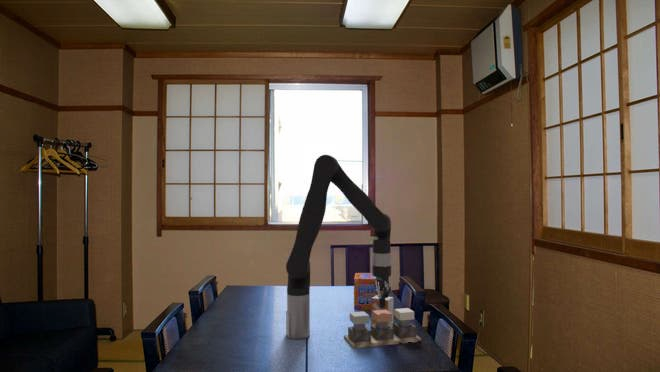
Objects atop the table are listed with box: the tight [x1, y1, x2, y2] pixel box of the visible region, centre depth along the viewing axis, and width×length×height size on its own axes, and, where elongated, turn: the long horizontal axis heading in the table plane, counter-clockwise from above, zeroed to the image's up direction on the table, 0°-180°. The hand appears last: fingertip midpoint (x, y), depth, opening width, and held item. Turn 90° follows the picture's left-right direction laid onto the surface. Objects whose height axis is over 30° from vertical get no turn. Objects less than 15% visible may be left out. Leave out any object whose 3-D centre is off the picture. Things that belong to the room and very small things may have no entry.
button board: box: [343, 322, 422, 349], centre depth 183 cm, size 28×12×5 cm, turn 105°
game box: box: [353, 272, 376, 311], centre depth 235 cm, size 16×16×16 cm
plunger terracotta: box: [372, 310, 392, 329], centre depth 183 cm, size 6×6×7 cm
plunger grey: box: [349, 310, 370, 331], centre depth 181 cm, size 6×6×7 cm
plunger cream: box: [394, 307, 415, 327], centre depth 186 cm, size 6×6×7 cm
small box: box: [370, 295, 395, 327], centre depth 199 cm, size 8×6×13 cm
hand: (382, 307), depth 183 cm, fingers closed
